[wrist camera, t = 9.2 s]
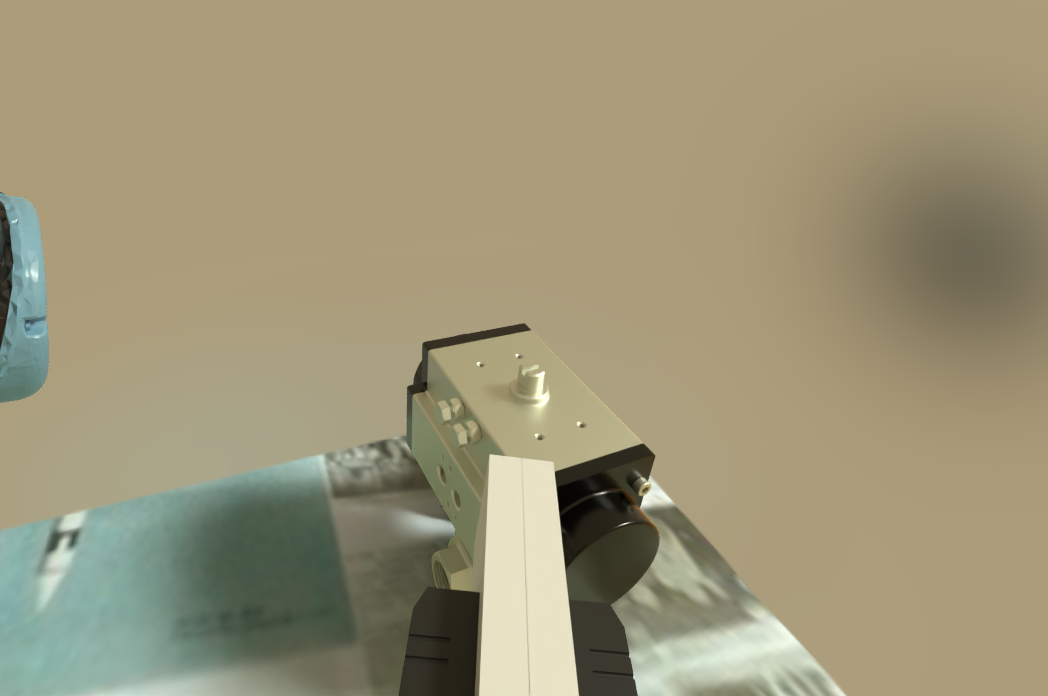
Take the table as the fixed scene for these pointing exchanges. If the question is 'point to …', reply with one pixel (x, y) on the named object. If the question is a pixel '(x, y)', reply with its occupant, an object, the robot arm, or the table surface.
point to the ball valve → (530, 455)
